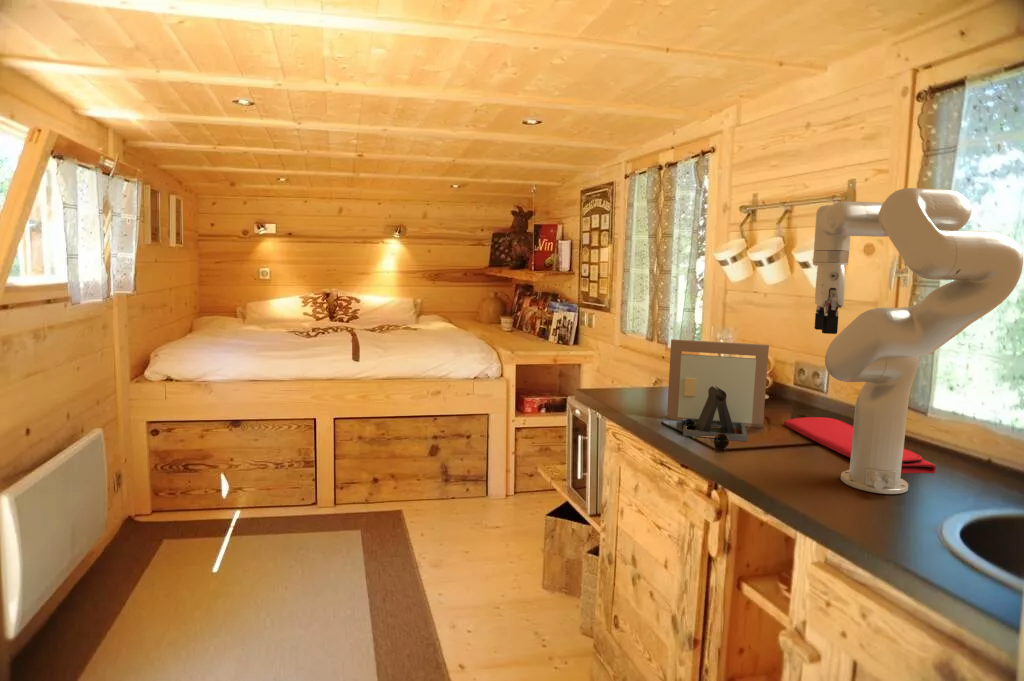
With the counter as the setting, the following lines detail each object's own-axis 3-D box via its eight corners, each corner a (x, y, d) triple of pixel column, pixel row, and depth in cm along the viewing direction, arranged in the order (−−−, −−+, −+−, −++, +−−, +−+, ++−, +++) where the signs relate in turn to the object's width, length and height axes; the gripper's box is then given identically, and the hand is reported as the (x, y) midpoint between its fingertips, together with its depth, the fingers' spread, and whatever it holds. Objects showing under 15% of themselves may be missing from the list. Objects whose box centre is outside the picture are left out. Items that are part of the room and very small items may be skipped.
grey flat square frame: (747, 441, 173) (747, 435, 173) (682, 435, 177) (683, 430, 177) (744, 428, 186) (744, 422, 186) (684, 422, 191) (684, 417, 191)
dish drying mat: (835, 427, 192) (837, 414, 191) (937, 475, 151) (939, 459, 151) (782, 427, 190) (783, 414, 190) (871, 475, 150) (872, 459, 150)
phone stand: (727, 429, 185) (730, 386, 183) (735, 435, 179) (738, 391, 177) (694, 428, 185) (697, 385, 183) (701, 434, 179) (704, 390, 177)
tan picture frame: (762, 428, 187) (769, 345, 183) (666, 419, 194) (671, 340, 190) (761, 424, 191) (767, 343, 188) (667, 416, 198) (671, 338, 195)
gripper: (856, 258, 149) (850, 336, 151) (840, 259, 166) (835, 329, 168) (820, 258, 151) (814, 334, 153) (807, 258, 167) (802, 327, 169)
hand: (825, 331), depth 160 cm, fingers open, 9 cm apart
